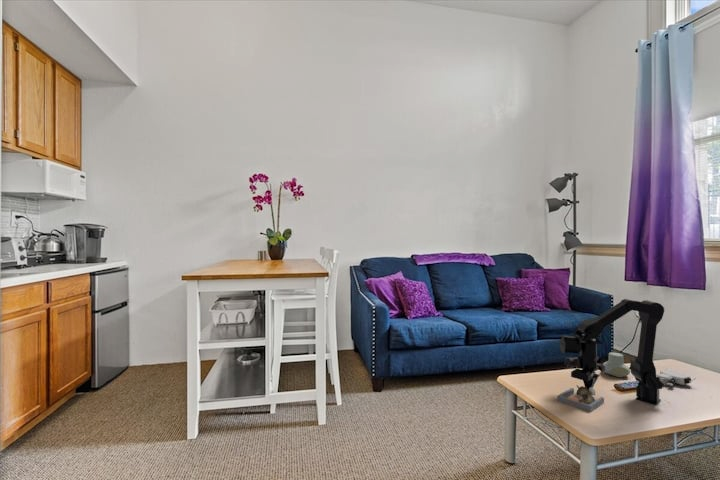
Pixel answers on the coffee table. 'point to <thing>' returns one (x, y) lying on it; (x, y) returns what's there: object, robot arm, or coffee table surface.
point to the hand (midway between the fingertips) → (588, 391)
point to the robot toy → (673, 377)
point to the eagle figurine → (586, 394)
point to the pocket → (576, 403)
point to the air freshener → (616, 365)
